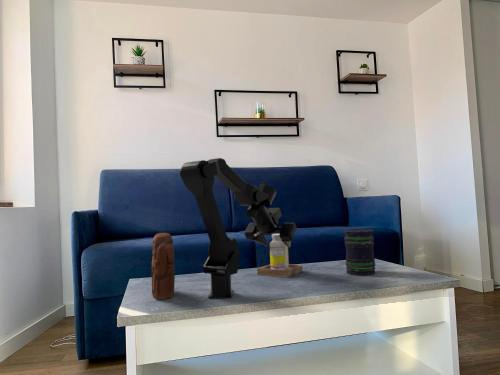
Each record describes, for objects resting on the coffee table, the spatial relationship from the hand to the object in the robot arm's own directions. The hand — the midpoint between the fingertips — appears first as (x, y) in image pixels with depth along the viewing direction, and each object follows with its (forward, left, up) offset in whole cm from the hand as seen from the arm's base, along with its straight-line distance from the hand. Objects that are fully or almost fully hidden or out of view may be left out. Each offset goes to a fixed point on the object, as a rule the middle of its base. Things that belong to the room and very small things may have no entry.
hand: (278, 246), depth 125 cm
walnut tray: (0, 0, -10) cm, 10 cm away
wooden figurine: (-27, +34, -10) cm, 45 cm away
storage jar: (-3, -28, -10) cm, 30 cm away
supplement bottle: (0, 0, -9) cm, 9 cm away
